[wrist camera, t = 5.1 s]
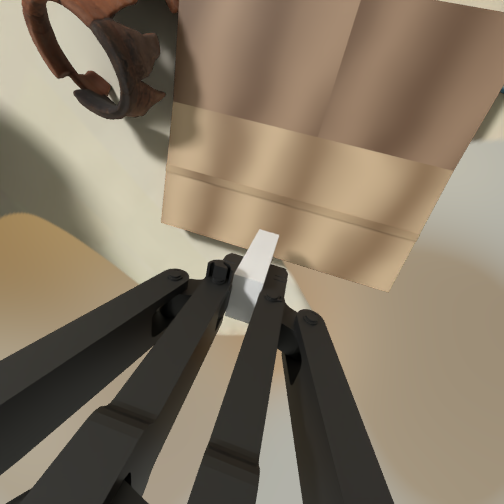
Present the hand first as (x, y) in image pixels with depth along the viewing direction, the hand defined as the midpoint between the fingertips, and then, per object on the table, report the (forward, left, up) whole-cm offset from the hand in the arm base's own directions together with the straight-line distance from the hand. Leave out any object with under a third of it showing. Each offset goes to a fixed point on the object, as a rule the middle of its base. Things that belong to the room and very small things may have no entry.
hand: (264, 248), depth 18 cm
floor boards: (0, +12, -6) cm, 13 cm away
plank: (0, +3, -5) cm, 6 cm away
